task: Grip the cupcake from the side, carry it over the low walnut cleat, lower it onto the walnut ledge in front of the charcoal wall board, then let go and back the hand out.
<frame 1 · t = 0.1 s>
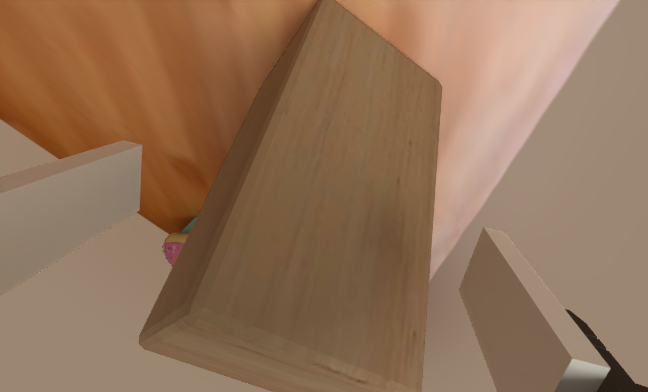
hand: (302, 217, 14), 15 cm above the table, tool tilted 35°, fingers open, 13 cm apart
cupcake: (210, 223, 52), on the table
wooden block: (345, 84, 28), on the table
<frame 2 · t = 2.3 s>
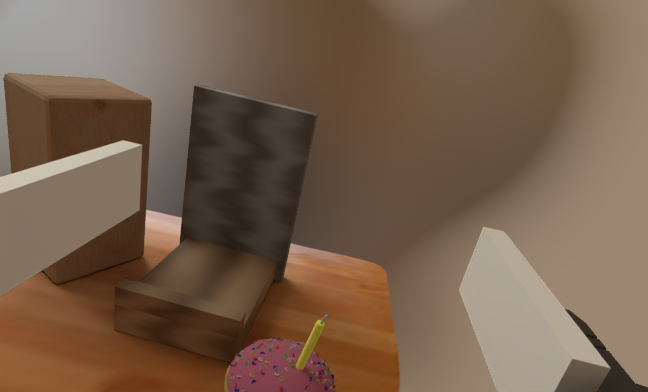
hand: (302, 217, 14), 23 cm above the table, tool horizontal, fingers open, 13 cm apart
wall board: (208, 297, 44), on the table
wooden block: (82, 253, 46), on the table
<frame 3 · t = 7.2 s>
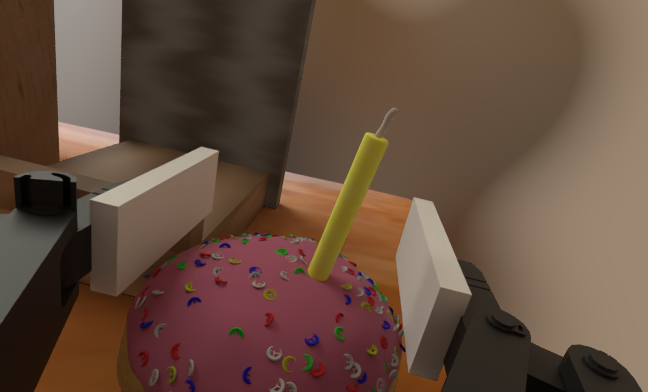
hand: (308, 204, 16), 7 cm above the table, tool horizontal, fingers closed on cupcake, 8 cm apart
wall board: (155, 218, 26), on the table
when the fingers open (11 cm above the table, at t = 13.4 s): cupcake stays where it is, resting on wall board.
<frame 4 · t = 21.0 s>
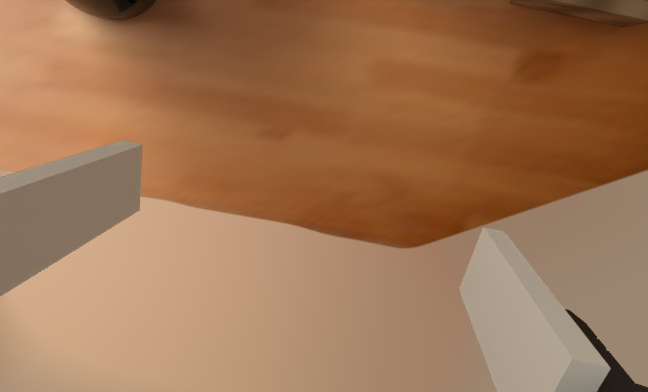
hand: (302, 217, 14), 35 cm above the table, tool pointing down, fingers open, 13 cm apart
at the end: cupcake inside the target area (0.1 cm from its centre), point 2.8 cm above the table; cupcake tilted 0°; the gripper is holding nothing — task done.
